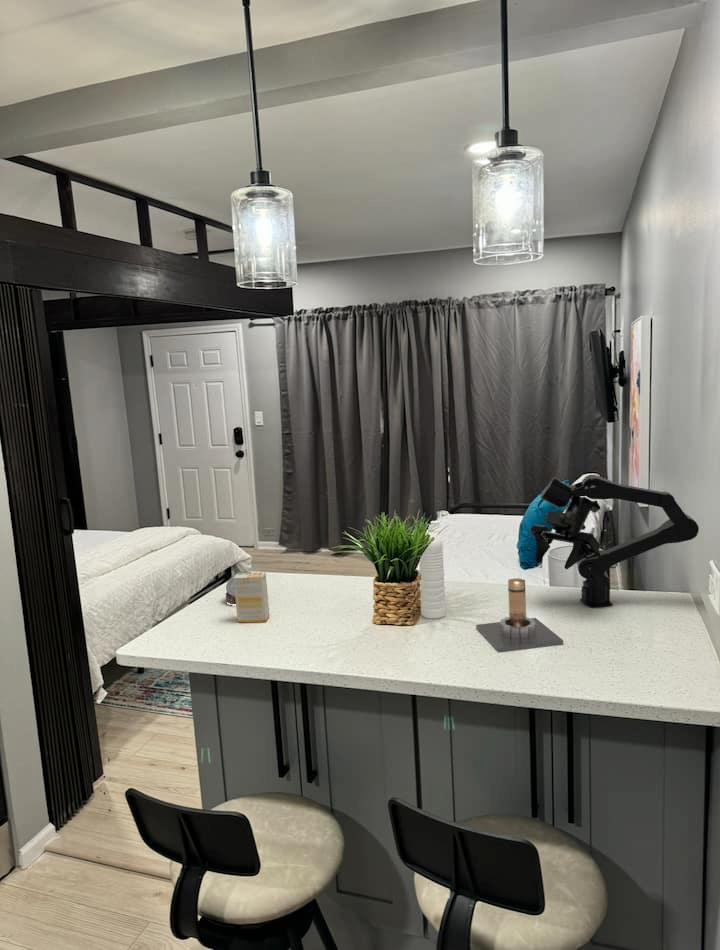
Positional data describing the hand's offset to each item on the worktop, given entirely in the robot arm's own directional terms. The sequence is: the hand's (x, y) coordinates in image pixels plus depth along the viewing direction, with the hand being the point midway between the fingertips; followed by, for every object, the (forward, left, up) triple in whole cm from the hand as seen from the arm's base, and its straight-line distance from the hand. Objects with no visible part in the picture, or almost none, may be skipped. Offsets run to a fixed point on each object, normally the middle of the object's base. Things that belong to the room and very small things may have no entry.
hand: (550, 565), depth 183 cm
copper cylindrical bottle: (+14, +11, -13) cm, 22 cm away
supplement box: (+78, -22, -14) cm, 82 cm away
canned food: (+81, -40, -14) cm, 91 cm away
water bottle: (+29, -11, -14) cm, 34 cm away
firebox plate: (+14, +11, -14) cm, 22 cm away
